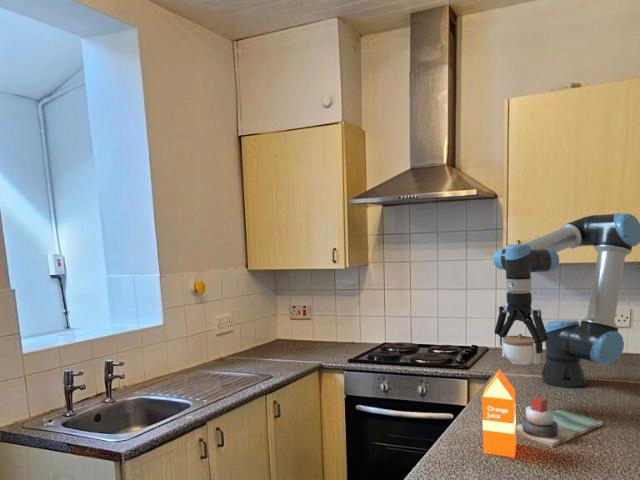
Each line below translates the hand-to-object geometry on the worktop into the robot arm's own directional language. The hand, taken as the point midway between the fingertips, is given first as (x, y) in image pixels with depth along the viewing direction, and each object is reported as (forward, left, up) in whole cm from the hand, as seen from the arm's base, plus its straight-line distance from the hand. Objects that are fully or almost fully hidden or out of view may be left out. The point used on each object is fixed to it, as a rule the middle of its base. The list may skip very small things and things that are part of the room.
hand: (521, 359), depth 158 cm
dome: (+15, +16, -12) cm, 25 cm away
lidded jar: (0, 0, -1) cm, 1 cm away
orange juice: (+31, +15, -16) cm, 38 cm away
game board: (+7, +16, -16) cm, 24 cm away
